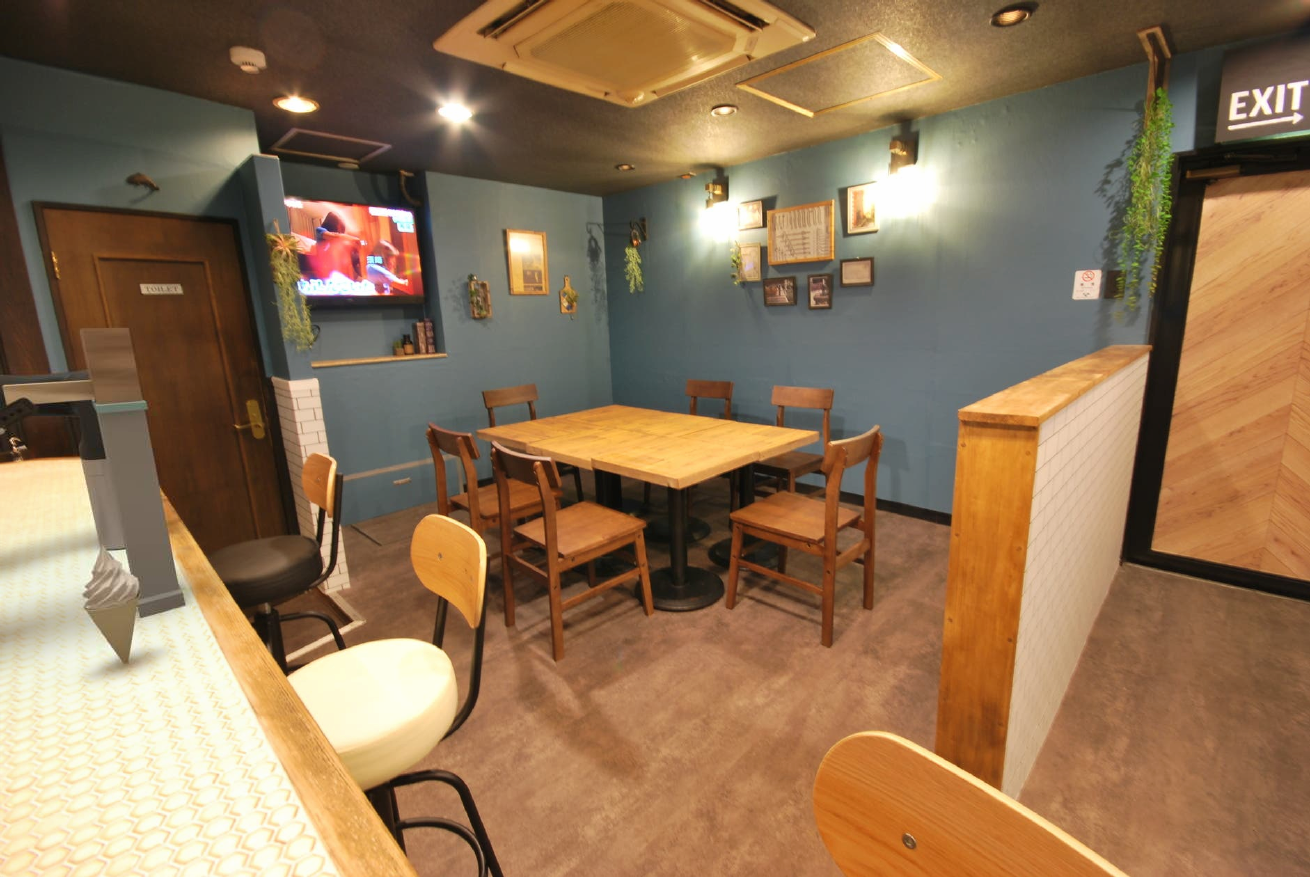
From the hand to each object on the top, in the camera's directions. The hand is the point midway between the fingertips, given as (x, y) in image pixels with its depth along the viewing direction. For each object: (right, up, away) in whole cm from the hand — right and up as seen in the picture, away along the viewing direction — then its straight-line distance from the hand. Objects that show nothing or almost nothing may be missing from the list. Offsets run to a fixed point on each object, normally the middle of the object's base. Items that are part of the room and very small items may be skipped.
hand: (33, 400), depth 76 cm
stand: (+7, -29, +11) cm, 32 cm away
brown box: (+3, 0, +3) cm, 4 cm away
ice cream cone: (+18, -32, -6) cm, 37 cm away
